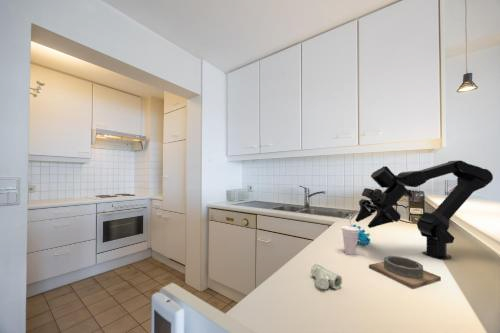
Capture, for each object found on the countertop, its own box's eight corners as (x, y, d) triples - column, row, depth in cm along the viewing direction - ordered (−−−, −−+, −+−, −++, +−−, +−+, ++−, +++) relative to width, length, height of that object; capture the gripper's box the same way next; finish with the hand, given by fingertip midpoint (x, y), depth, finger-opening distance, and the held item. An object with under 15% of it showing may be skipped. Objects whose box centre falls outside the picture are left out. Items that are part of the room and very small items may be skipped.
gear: (358, 243, 85) (347, 222, 93) (349, 250, 89) (339, 229, 96) (377, 245, 89) (365, 224, 96) (368, 251, 93) (357, 231, 100)
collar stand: (395, 262, 72) (395, 251, 72) (440, 280, 60) (440, 268, 60) (368, 267, 67) (368, 256, 67) (412, 288, 55) (412, 275, 55)
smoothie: (360, 252, 80) (360, 216, 81) (358, 257, 75) (358, 219, 76) (342, 248, 84) (342, 214, 84) (339, 253, 79) (340, 217, 79)
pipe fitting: (324, 296, 52) (342, 287, 55) (323, 281, 52) (341, 273, 55) (302, 281, 59) (319, 274, 62) (302, 268, 59) (318, 261, 62)
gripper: (363, 180, 89) (337, 205, 89) (392, 182, 71) (359, 213, 71) (381, 199, 89) (355, 223, 89) (415, 206, 70) (382, 237, 70)
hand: (361, 223), depth 80 cm, fingers open, 9 cm apart
